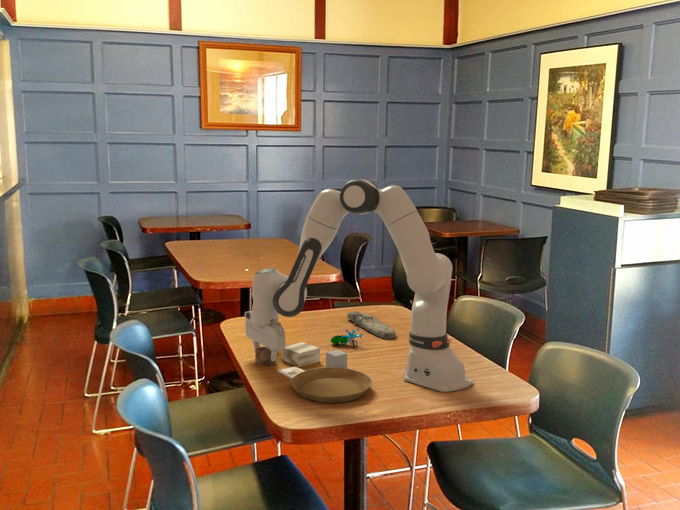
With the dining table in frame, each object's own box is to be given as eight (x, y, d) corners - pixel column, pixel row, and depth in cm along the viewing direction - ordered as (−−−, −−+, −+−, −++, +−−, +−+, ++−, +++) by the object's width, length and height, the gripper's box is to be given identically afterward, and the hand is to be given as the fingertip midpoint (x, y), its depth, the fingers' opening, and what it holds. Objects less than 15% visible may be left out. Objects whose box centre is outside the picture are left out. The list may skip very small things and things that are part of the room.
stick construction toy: (362, 336, 253) (359, 323, 248) (367, 351, 248) (363, 338, 243) (332, 345, 253) (327, 332, 248) (335, 359, 248) (331, 347, 243)
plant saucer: (321, 413, 187) (321, 401, 187) (276, 387, 206) (276, 376, 206) (388, 395, 201) (388, 384, 201) (340, 372, 220) (340, 362, 220)
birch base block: (319, 362, 230) (319, 347, 230) (299, 367, 224) (299, 353, 223) (302, 355, 237) (302, 342, 236) (282, 361, 231) (282, 347, 230)
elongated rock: (379, 344, 256) (401, 343, 260) (380, 331, 255) (403, 330, 259) (340, 317, 287) (361, 316, 291) (341, 305, 286) (362, 304, 290)
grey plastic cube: (347, 368, 224) (347, 353, 223) (334, 370, 221) (335, 356, 220) (337, 364, 228) (338, 349, 227) (325, 366, 225) (326, 352, 224)
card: (313, 376, 215) (313, 374, 215) (295, 380, 211) (295, 378, 211) (295, 367, 223) (295, 366, 223) (277, 371, 219) (277, 370, 219)
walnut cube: (275, 363, 227) (276, 349, 226) (263, 366, 224) (263, 352, 223) (268, 359, 231) (268, 345, 230) (255, 362, 228) (255, 348, 227)
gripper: (290, 322, 219) (290, 363, 221) (258, 309, 235) (258, 347, 237) (273, 325, 215) (273, 367, 218) (242, 311, 231) (242, 350, 233)
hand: (265, 356), depth 228 cm, fingers open, 8 cm apart
